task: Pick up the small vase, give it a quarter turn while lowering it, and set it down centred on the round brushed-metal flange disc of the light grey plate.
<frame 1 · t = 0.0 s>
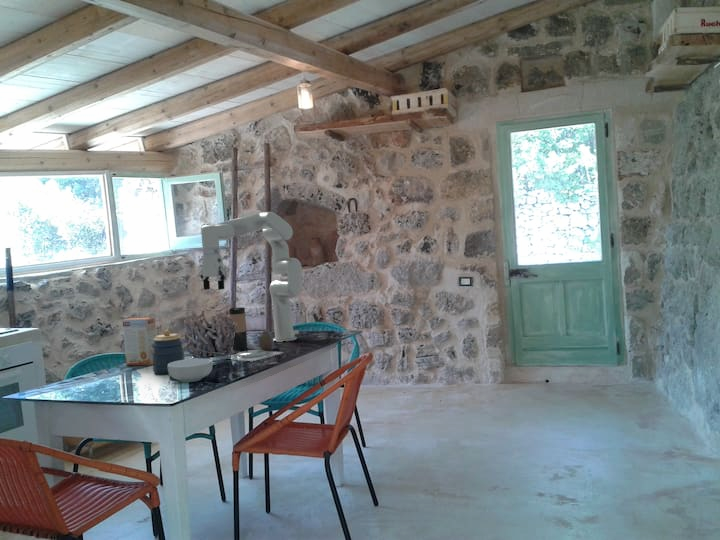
hand: (214, 289, 296), 31 cm above the table, tool pointing down, fingers open, 9 cm apart
vase: (266, 349, 309), on the table
canister: (169, 372, 269), on the table
cereal bowl: (191, 380, 249), on the table
flange plate: (251, 356, 292), on the table
travel mug: (239, 349, 315), on the table
cracker box: (142, 364, 290), on the table
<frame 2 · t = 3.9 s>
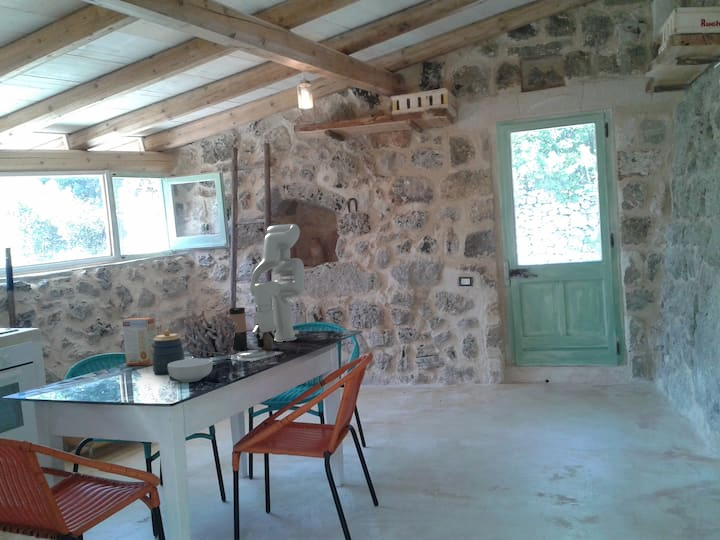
hand: (266, 345, 309), 2 cm above the table, tool pointing down, fingers closed on vase, 6 cm apart
vase: (266, 349, 309), on the table, touching gripper
everything else where it was.
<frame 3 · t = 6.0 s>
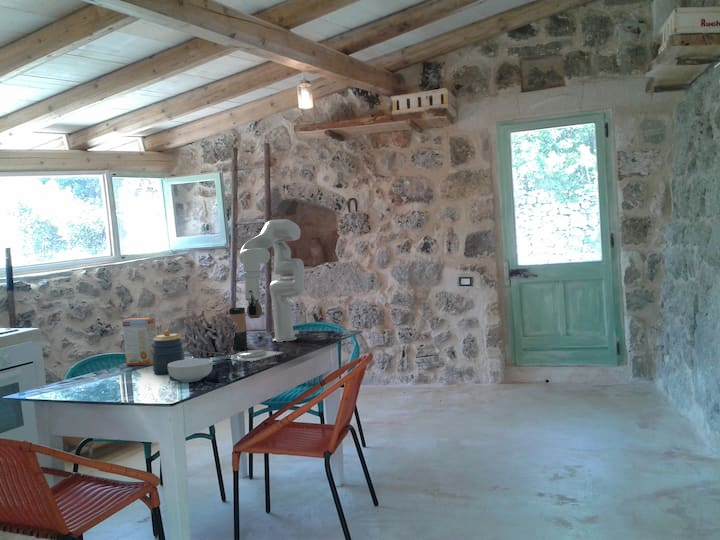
hand: (254, 313, 297), 19 cm above the table, tool pointing down, fingers closed on vase, 6 cm apart
vase: (254, 318, 298), point 16 cm above the table, touching gripper
everything else where it was.
when the fingers open (5 cm above the table, at t = 8.5 s): vase drops 1 cm, resting on flange plate.
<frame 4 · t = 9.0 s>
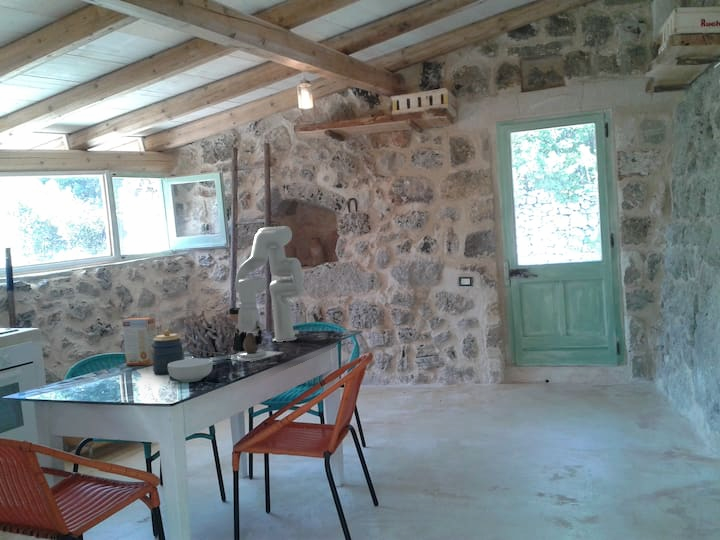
hand: (250, 343, 292), 6 cm above the table, tool pointing down, fingers open, 9 cm apart
vase: (251, 352, 293), point 2 cm above the table, touching flange plate
everything else where it was.
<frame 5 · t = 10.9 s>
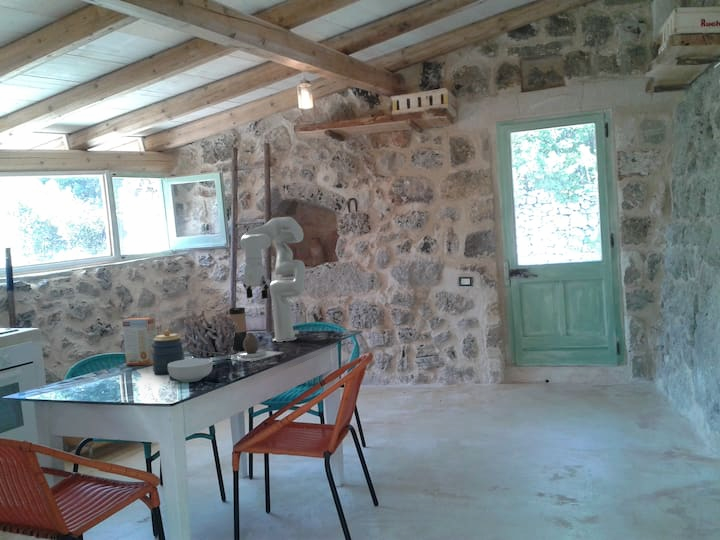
hand: (257, 298, 302), 25 cm above the table, tool pointing down, fingers open, 9 cm apart
nothing on the table moved.
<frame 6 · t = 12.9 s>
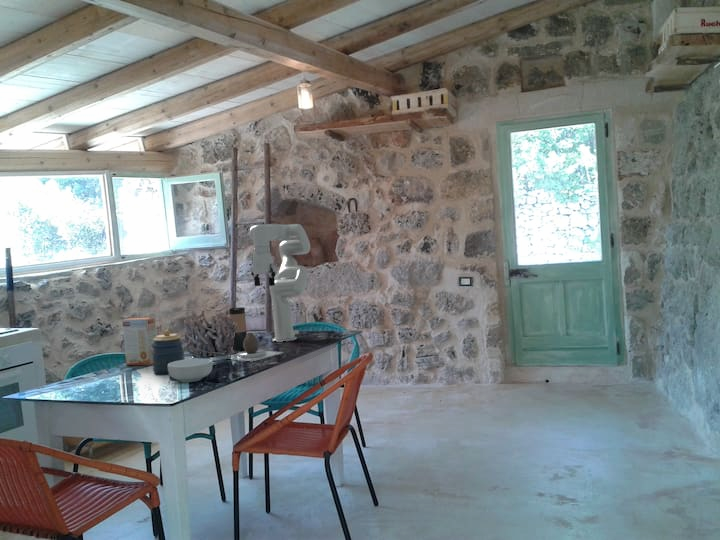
hand: (264, 285, 312), 30 cm above the table, tool pointing down, fingers open, 9 cm apart
nothing on the table moved.
at the end: vase 0.3 cm off-centre on the flange plate, point 1.6 cm above the flange plate's base; vase tilted 0°; the gripper is holding nothing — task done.
